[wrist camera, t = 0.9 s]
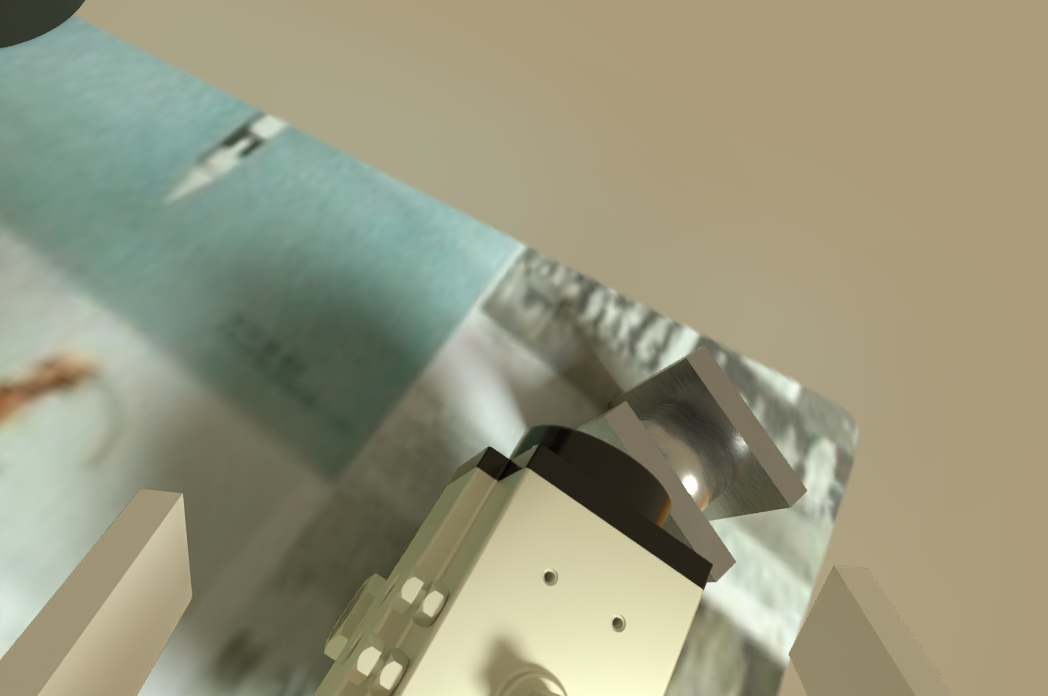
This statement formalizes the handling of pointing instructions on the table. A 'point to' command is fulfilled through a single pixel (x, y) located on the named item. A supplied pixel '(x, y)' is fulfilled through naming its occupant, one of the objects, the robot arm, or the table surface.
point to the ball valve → (528, 583)
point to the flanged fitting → (699, 451)
